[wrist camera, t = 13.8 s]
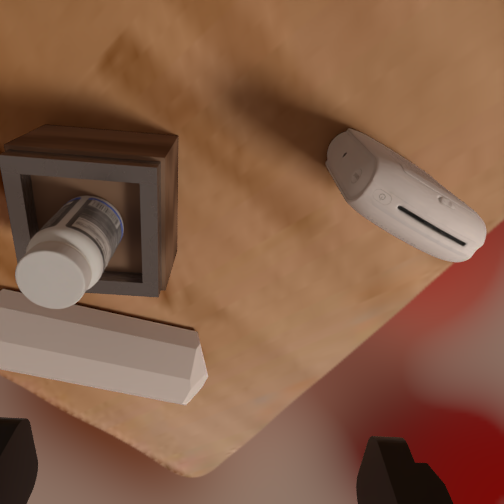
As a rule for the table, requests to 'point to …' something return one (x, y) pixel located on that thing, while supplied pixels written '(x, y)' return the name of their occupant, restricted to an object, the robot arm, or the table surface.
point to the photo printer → (403, 198)
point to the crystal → (100, 350)
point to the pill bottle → (70, 252)
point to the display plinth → (100, 195)
